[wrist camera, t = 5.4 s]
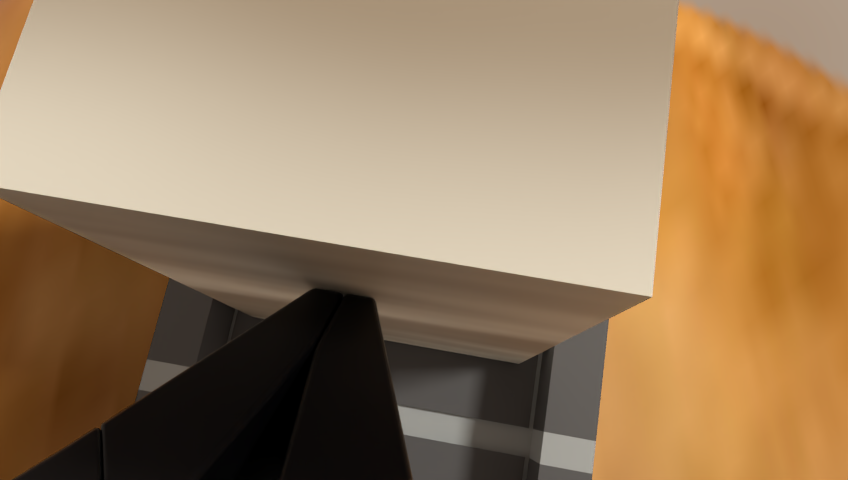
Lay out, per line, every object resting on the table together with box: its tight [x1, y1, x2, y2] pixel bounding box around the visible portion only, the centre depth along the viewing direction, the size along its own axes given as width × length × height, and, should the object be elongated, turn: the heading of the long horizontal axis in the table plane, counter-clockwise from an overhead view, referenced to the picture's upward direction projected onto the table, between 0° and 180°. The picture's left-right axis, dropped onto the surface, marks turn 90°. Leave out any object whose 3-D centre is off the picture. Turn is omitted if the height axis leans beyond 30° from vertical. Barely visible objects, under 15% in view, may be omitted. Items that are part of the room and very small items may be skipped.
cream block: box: [0, 0, 679, 364], centre depth 10 cm, size 4×6×9 cm, turn 80°
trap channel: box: [135, 278, 609, 480], centre depth 13 cm, size 17×9×2 cm, turn 170°
